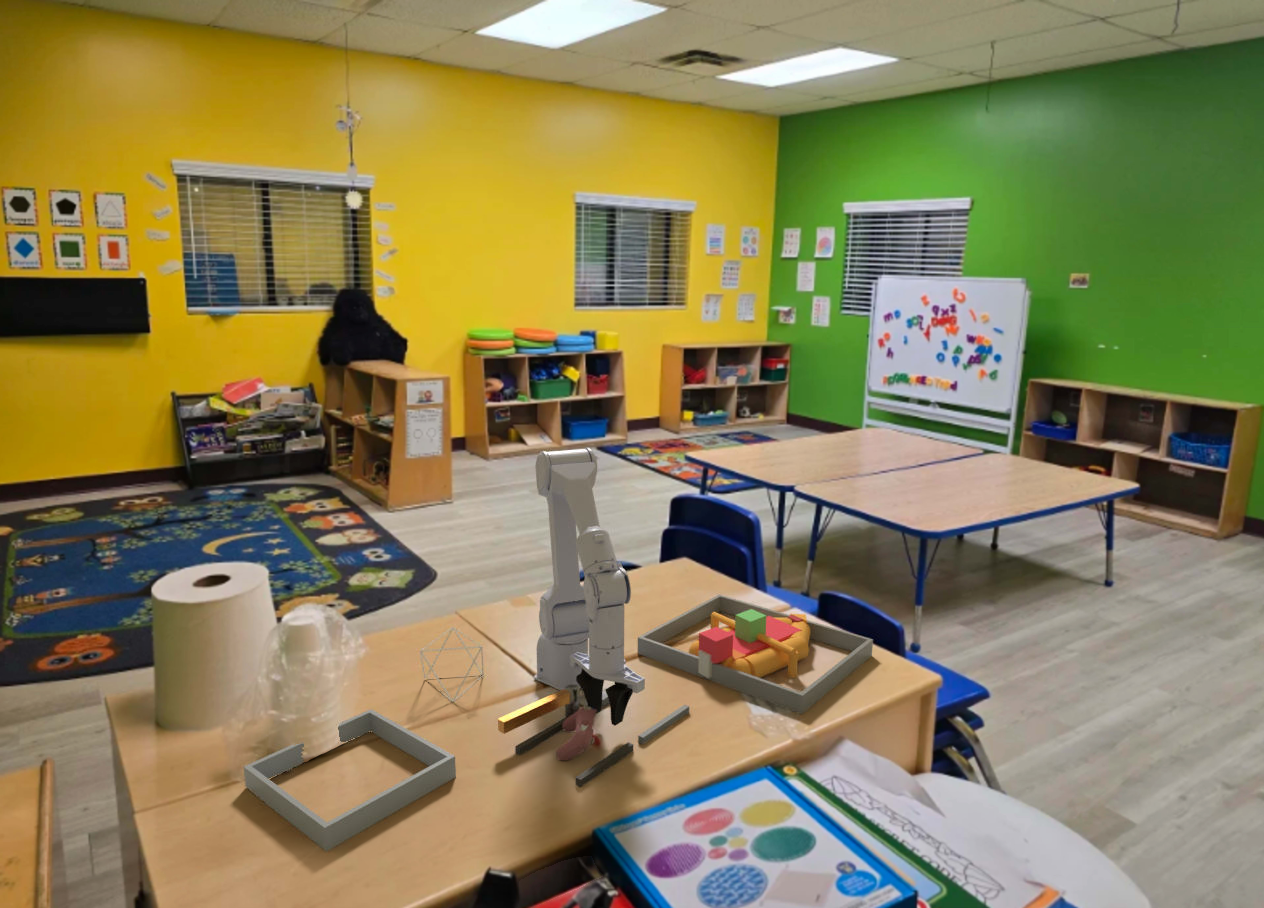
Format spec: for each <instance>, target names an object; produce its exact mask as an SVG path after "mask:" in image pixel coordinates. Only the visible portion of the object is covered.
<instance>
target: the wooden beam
mask: <svg viewBox="0 0 1264 908" xmlns="http://www.w3.org/2000/svg"><path fill="white" fill-rule="evenodd" d="M561 707H564V713H565V715H564V717H567V716H568V715H570V716H571V715H573V714H574V713H576V712H577V711H578V710H579V709H580V689H579V686H577V685H573V684H572V685H567V686H566V687H565V689H563V690H559V691H557V692H554V693H553V694H550V695H547V696H546V697H543V698H541V699H538V700H537V701H534V702H532V703H530V704H527V705H526V706H524V707H522V708H519V709H517V710H514V711H512V712H510V713H508V714H506V715H504V716H501V717H499V718H497V730H498V731H499V732H500V733H502V734H503V735H505V734H507V733H509V732H511V731H514V730H515V729H518V728H520V727H521V726H523V725H526V724H528V723H530V722H533V721H534V720H537V719H538V718H541V717H543V716H545V715H548V714H549V713H551V712H554V711H556V710H558V709H560V708H561Z"/></svg>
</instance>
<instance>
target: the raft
mask: <svg viewBox="0 0 1264 908" xmlns="http://www.w3.org/2000/svg"><path fill="white" fill-rule="evenodd" d="M789 615H790V616H789V617H788V618H773V617H771V616H767V617H766V615H764V614H762V613H759V612H757V611H755V610H752V609H750V610H747V611H745V612H742V613H739V614H737V615H734V616H735V617H734V618H735V620H734V619H731V618H729V617H727V616H724V615H723V614H720V613H719V612H717V613H716V612H713V613H712V614H711V616H710V628H709V629H707V630H704V631H701V632H699V633H698V639H697V640H696V641H694V642H692V643H691V644H690V646H689V649H688V653H690V654H693V655H696V656H699V663H698V673H700V674H701V675H703V676H705V677H707V678H710V677H711V674H712V663H715V664H716V663H718V664H721V665H724V666H727V667H730V668H733V669H735V670H738V671H741V672H744V673H747V674H750V675H752V676H755V677H758V678H761V679H762V678H764V677H766V676H768V675H771V674H772V673H774V672H777V671H779V670H781V669H783V668H786V667H787V676H788V677H790V678H792V679H793V678H797V677H798V662H799V661H801V660H804V659H805V658H806V657H808V656H809V652H810V648H809V641H810V638H809V637H810V632H811V631H810V627H809V625H808V624H807V616H806V615H807V614H805V613H801V614H800V613H790V614H789ZM720 623H721V624H724V625H726V626H727V627H724V628H720Z"/></svg>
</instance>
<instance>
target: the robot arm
mask: <svg viewBox="0 0 1264 908" xmlns="http://www.w3.org/2000/svg"><path fill="white" fill-rule="evenodd" d="M597 460H598V459H597V457H596V455H595V452H594V451H593V450H592V449H591V447H584V448H577V449H564V450H562V449H561V450H552V451H546V450H542V451H540V452H539V453H538V455H537V456H536V461H535V478H536V479H535V480H536V489H537V493H538V496H542V497H545V498H546V502H547V508H548V521H549V522H548V523H549V535H550V547H551V548H550V549H551V562H552V564H551V565H552V574H553V575H552V576H553V585H552V586H551V587H550V588H549V589H548V590H546V591H545V592H544V593H543V594H542V595H541V596H540V600H539V612H538V617H539V618H538V620H539V621H538V623H539V627H540V632H541V634H540V636H539V637H538V640H537V644H536V674H535V675H533V679H534V680H535V681H538V682H540V683H542V684H545V685H547V686H550V687H552V688H554V689H556V690H559V691H561V690H563V689H565V687H566V686H567V685H572V684H573V685H577V686H579V690H580V689H581V690H582V693H583V695H584V698H585V700H586V701H585V702H586V705H588V707H591V708H594V709H596V710H597V712H596V715H597V714H598V713H601V712H602V707H603V706H602V696H603V692H604V691H603V690H604V684H605V681H608V682H613V683H614V684H613V685H611V686H609V687H607V688H605V694H606V693H607V695H608V698H609V707H610V709H609V710H610V722H611V723H610V724H611V725H612V726H614V727H615V726H617V725H619V724H620V723H622V722H623V720H624V716H625V713H626V709H627V706H628V704H629V701H630V700H631V697H632V695H633V694H639V693H640V692H643V691H644V690H645V689H646V688H645V687H646V686H645V685H646V679H645V677H643V676H641V675H640V674H637V673H636V672H635V671H633V670H632V669H631V668H630V667H628V666H627V665H626V661H627V660H626V659H625V605H627V604H629V603H630V601H631V597H632V596H631V594H632V587H631V582H630V578H629V575H628V573H627V571H626V570H625V568H623V564H622V563H621V562H618V560H617V557H616V553H615V551H614V548H613V544H612V540H611V536H610V534H609V532H608V531H607V530H605V529H603V528H601V527H600V526H601V525H600V521H599V517H598V512H597V507H596V501H595V497H594V492H593V488H594V487H595V484H596V483H595V482H596V479H597V474H598V461H597ZM577 530H578V533H579V535H578V536H577ZM579 561H580V564H581V567H582V572H583V575H584V581H583V584H581V578H580V564H579Z"/></svg>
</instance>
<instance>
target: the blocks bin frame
mask: <svg viewBox="0 0 1264 908" xmlns="http://www.w3.org/2000/svg"><path fill="white" fill-rule="evenodd" d="M750 609H752V610H755V611H757V612H759V613H762V614H764V615H766V617H767V616H771V617H773V618H788V617H789V616H790V614H787V613H783V612H780V611H776V610H775V609H771V608H767V607H763V606H760V605H756V604H753V603H749V602H746V601H742V600H740V599H736V598H733V597H730V596H729V597H728V596H725V595H723V594H717V595H715V596H714V597H712V598H710V599H708V600H706V601H704V602H701V603H700V604H698V605H696V606H694V607H692V608H691V609H689V610H687V611H685V612H683V613H682V614H679V615H677V616H675V617H674V618H672V619H670V620H668V621H666V622H663V624H660V625H658V626H656V627H655V628H653V629H651V630H649V631H647V632H645V633H643V634H641V635H639V636H637V654H638V655H641V656H644V657H647V658H649V659H651V660H653V661H657V662H659V663H663V664H665V665H667V666H670V667H673V668H676V669H679V670H681V671H683V672H687V673H689V674H692V675H695V676H697V677H700V678H703V679H706V680H708V681H711V682H714V683H716V684H719V685H722V686H724V687H727V688H729V689H732V690H735V691H738V690H739V691H738V692H740V691H742V692H741V693H743V692H744V693H743V694H746V695H749V696H751V695H752V697H755V698H758V699H760V700H763V701H765V702H768V703H771V704H772V705H776V706H779V707H781V706H782V707H781V708H784V709H786V708H788V709H787V710H789V709H790V711H793V712H795V713H798V714H800V715H802V714H804V713H805V712H806V711H808V709H810V708H811V707H812V706H813V705H814V704H816V703H817V702H819V700H820V699H822V698H823V697H824V696H825V695H827V693H829V692H830V691H831V690H833V689H834V688H835V687H836V686H837V685H838V684H840V683H841V682H842V681H844V680H845V679H846V677H848V676H849V675H851V673H853V672H854V671H855V670H857V669H858V668H859V667H860V666H861V665H863V664H864V663H865V662H866V661H868V659H870V657H872V656H873V646H874V645H873V644H874V639H872V638H870V637H866V636H863V635H859V634H855V633H853V632H849V631H846V630H841V629H839V628H836V627H831V626H829V625H825V624H821V623H818V622H814V621H811V620H809V619H808V620H807V624H808V625H809V627H810V631H811V632H810V637H809V640H810V639H811V640H814V641H816V642H819V643H824V644H826V645H829V646H834V647H836V648H839V649H844V650H846V651H849V652H850V653H849V654H847V655H846V656H845V657H843V658H842V659H841V660H839V662H837V663H836V664H835V665H833V667H831V668H830V669H828V670H827V671H826V672H824V674H823V675H821V676H820V677H819V678H817V679H816V680H815V681H813V682H812V683H811V684H810V685H808V686H807V687H806V688H805V689H803V690H802V691H797V690H795V689H792V688H789V687H786V686H784V685H781V684H777V683H775V682H772V681H770V680H766V679H763V678H762V677H761V678H758V677H755V676H752V675H750V674H747V673H744V672H741V671H738V670H735V669H733V668H730V667H727V666H724V665H721V664H718V663H716V664H715V663H712V674H711V677H710V678H707V677H705V676H703V675H701V674H700V673H698V663H699V656H696V655H693V654H690V653H689V652H687V651H684V650H681V649H678V648H676V647H672V646H669V645H666V644H665V643H664V642H666V641H668V640H670V639H671V638H673V637H675V636H677V635H679V634H681V633H682V632H684V631H686V630H687V629H690V628H691V627H693V626H695V625H697V624H699V623H701V622H702V621H704V620H706V619H707V618H711V614H712V613H713V612H716V613H719V612H722V613H725V614H729V615H731V616H735V615H737V614H739V613H742V612H745V611H747V610H750Z"/></svg>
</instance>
